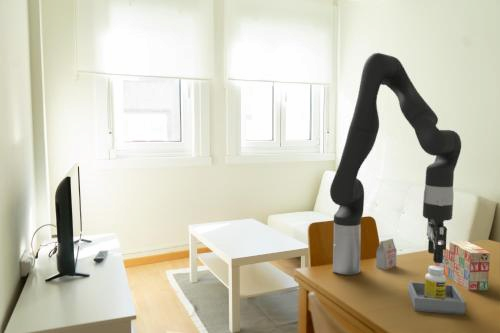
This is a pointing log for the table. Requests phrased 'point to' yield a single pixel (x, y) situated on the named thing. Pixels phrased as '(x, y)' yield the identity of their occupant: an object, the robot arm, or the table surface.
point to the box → (436, 300)
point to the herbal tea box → (386, 255)
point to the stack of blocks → (466, 265)
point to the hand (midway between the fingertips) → (434, 257)
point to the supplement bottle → (435, 283)
